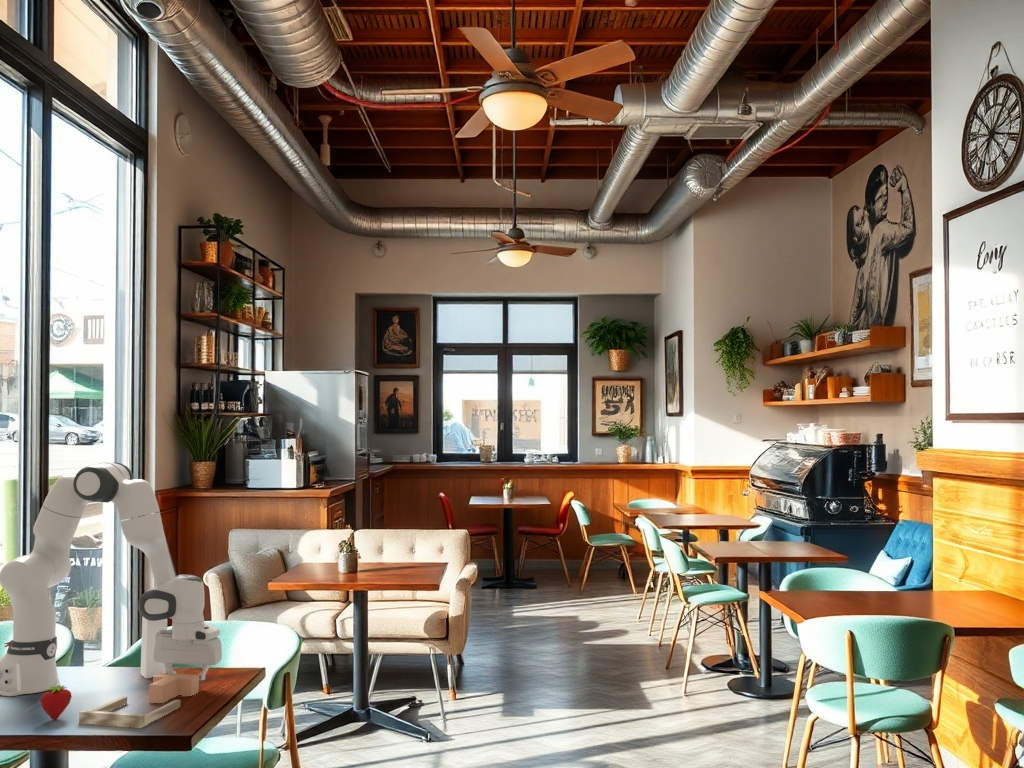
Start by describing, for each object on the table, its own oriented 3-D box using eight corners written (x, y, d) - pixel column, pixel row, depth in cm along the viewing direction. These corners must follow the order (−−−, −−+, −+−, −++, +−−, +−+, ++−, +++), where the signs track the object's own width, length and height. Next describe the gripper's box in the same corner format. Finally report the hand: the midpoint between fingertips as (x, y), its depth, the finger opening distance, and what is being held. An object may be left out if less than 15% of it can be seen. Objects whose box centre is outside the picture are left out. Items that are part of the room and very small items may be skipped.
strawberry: (75, 717, 232) (77, 678, 233) (47, 725, 226) (48, 685, 227) (63, 714, 236) (64, 675, 236) (34, 721, 229) (36, 681, 230)
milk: (145, 678, 271) (147, 605, 272) (140, 674, 276) (141, 602, 277) (166, 675, 275) (167, 603, 276) (160, 671, 280) (162, 600, 281)
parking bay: (78, 724, 227) (79, 711, 228) (122, 703, 245) (122, 692, 245) (140, 728, 224) (141, 716, 224) (180, 707, 242) (180, 696, 242)
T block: (135, 702, 247) (136, 683, 247) (160, 690, 258) (161, 672, 259) (175, 704, 244) (175, 686, 245) (198, 692, 256) (199, 675, 256)
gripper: (149, 631, 261) (148, 679, 260) (214, 634, 257) (212, 683, 256) (161, 627, 267) (160, 674, 266) (225, 630, 263) (223, 678, 262)
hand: (186, 679), depth 261 cm, fingers open, 8 cm apart
